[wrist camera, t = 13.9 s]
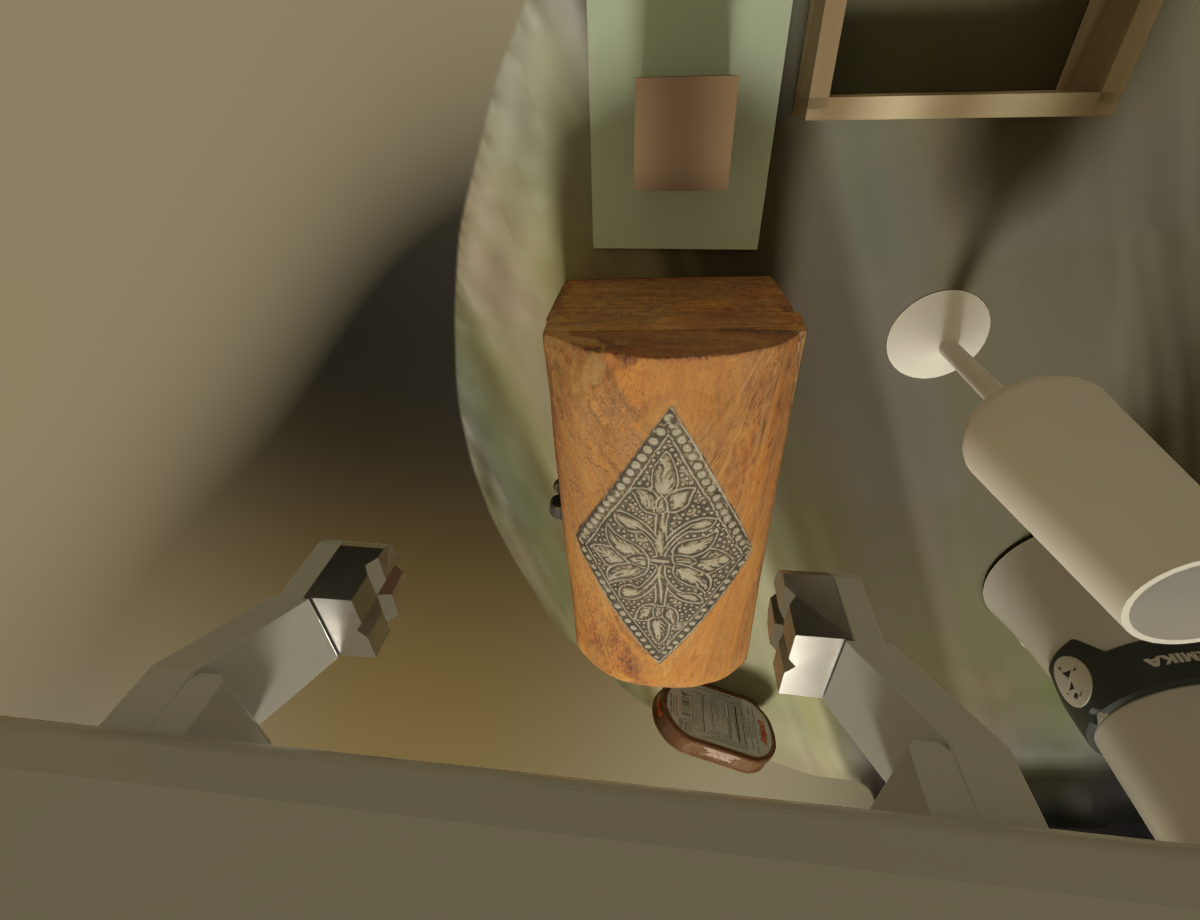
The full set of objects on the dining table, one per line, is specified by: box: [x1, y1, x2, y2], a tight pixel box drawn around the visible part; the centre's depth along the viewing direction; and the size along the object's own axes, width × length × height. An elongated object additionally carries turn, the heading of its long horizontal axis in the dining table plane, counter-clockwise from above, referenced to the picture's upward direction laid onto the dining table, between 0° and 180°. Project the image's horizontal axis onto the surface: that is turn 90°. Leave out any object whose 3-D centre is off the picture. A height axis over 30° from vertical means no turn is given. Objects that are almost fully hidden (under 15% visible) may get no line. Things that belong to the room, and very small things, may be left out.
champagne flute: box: [887, 290, 1200, 644], centre depth 29 cm, size 7×7×24 cm
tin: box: [652, 684, 776, 774], centre depth 64 cm, size 15×3×8 cm, turn 69°
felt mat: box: [587, 0, 793, 250], centre depth 33 cm, size 11×14×1 cm
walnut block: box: [634, 75, 740, 191], centre depth 30 cm, size 5×5×6 cm
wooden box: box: [543, 276, 808, 688], centre depth 41 cm, size 30×16×14 cm, turn 2°
